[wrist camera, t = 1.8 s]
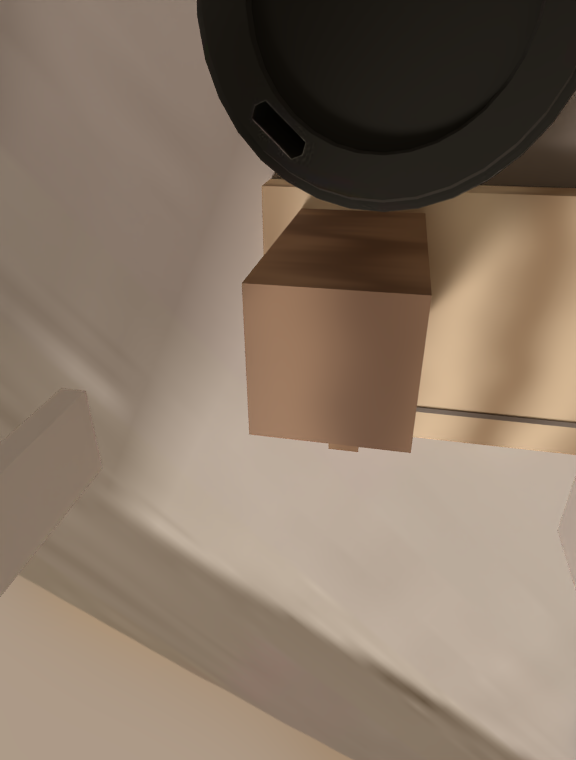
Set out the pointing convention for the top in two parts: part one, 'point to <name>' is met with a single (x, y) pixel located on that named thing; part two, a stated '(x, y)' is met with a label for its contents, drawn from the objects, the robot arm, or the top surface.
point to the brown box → (339, 329)
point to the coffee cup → (390, 90)
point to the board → (489, 313)
